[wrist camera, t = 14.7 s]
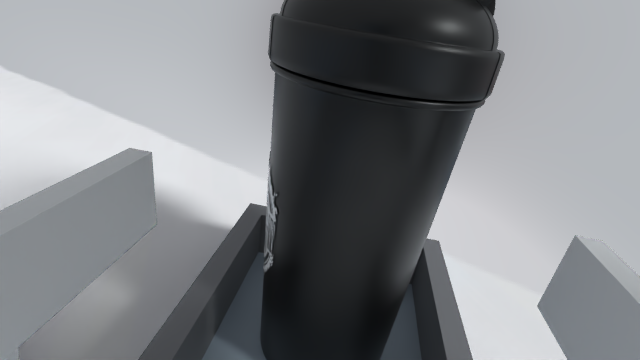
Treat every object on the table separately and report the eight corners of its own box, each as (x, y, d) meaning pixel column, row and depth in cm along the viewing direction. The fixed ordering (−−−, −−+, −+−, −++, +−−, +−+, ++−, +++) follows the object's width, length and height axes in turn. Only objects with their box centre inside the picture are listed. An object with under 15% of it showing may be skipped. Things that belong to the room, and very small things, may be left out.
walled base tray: (437, 278, 34) (452, 235, 31) (507, 572, 15) (555, 517, 13) (238, 236, 35) (240, 193, 33) (90, 459, 17) (74, 394, 15)
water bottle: (275, 270, 29) (311, -49, 19) (394, 301, 28) (499, -22, 18) (219, 380, 20) (233, -110, 10) (392, 433, 19) (598, -65, 9)
